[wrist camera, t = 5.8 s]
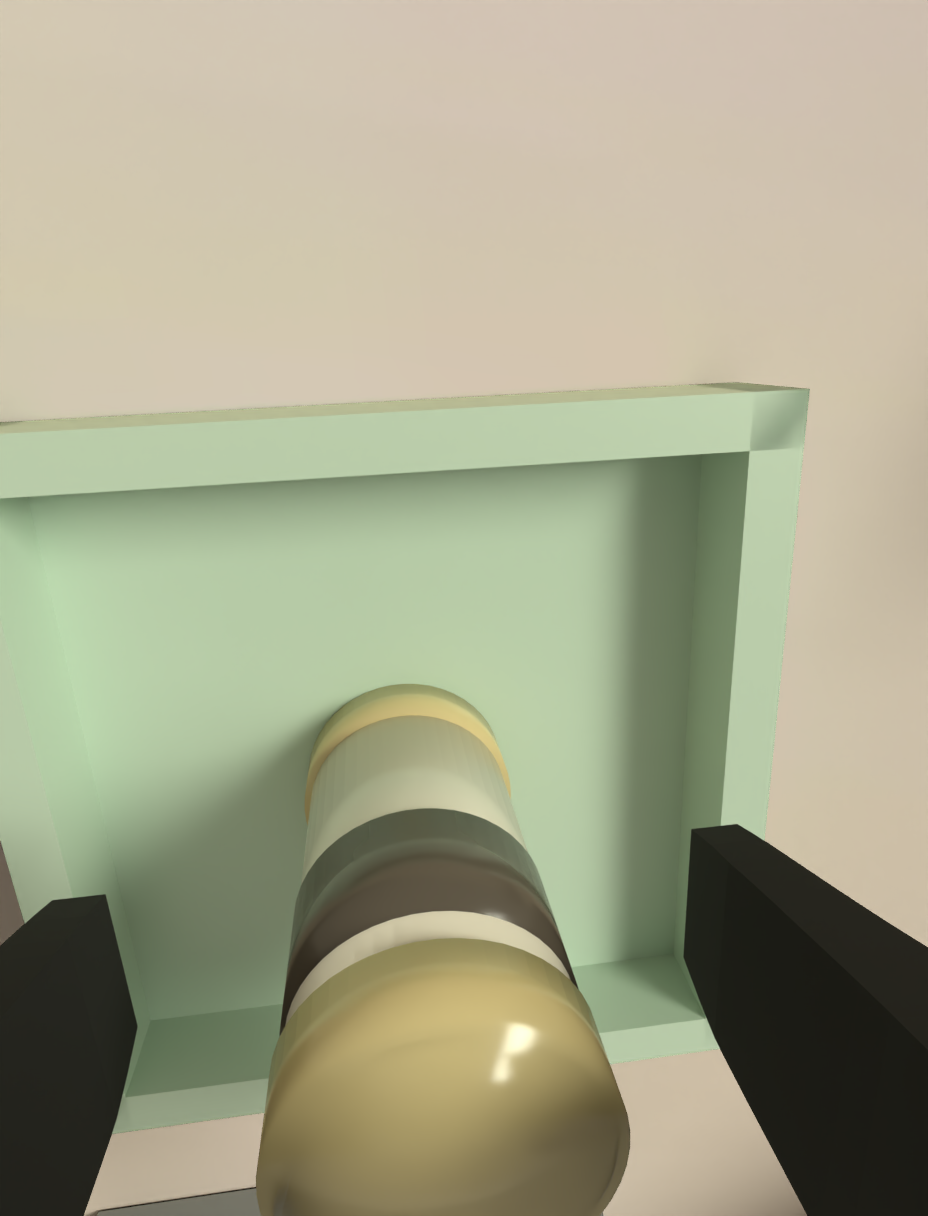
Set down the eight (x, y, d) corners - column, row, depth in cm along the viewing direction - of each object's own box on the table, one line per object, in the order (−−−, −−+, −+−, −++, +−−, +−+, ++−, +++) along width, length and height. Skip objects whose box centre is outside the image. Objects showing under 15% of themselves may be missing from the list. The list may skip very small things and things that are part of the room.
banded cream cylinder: (502, 679, 13) (643, 1005, 7) (498, 845, 14) (617, 1271, 8) (302, 689, 13) (238, 1047, 6) (314, 859, 14) (271, 1322, 7)
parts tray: (737, 382, 13) (809, 388, 10) (697, 958, 16) (743, 1045, 14) (-28, 423, 11) (-116, 439, 9) (125, 1031, 15) (87, 1138, 13)
